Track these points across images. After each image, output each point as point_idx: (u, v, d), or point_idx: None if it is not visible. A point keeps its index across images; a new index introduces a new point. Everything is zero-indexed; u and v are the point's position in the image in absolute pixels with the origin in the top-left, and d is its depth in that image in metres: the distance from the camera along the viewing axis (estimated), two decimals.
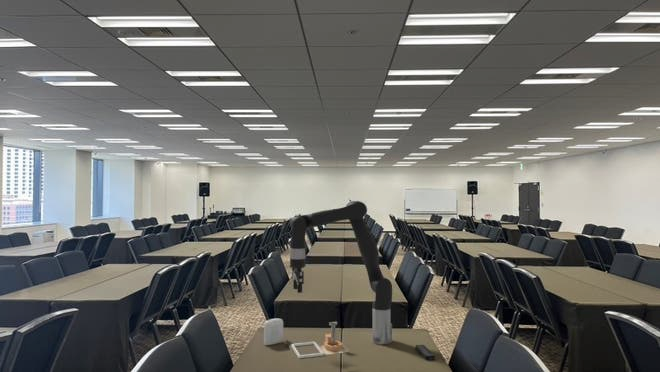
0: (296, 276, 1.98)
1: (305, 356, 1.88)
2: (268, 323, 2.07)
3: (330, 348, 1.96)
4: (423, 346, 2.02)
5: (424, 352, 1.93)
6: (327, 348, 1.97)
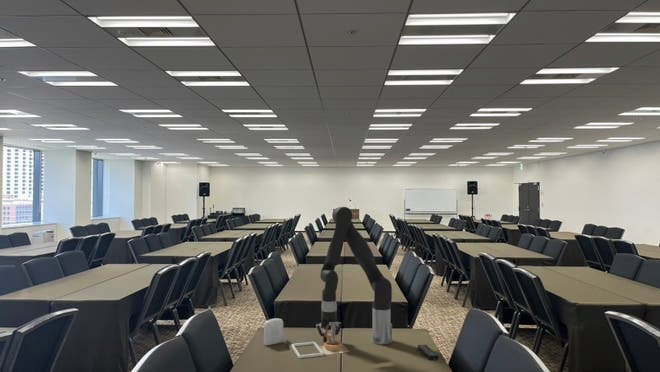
0: None
1: (305, 356, 1.88)
2: (268, 323, 2.07)
3: (330, 348, 1.96)
4: (425, 346, 2.02)
5: (427, 352, 1.94)
6: (327, 348, 1.97)
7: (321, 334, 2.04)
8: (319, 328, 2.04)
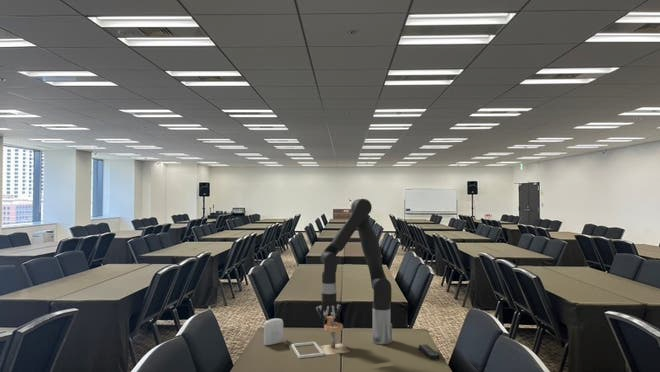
0: None
1: (305, 356, 1.88)
2: (268, 323, 2.07)
3: (331, 329, 1.97)
4: (426, 345, 2.02)
5: (429, 352, 1.94)
6: (328, 329, 1.97)
7: (321, 316, 2.05)
8: (319, 310, 2.04)
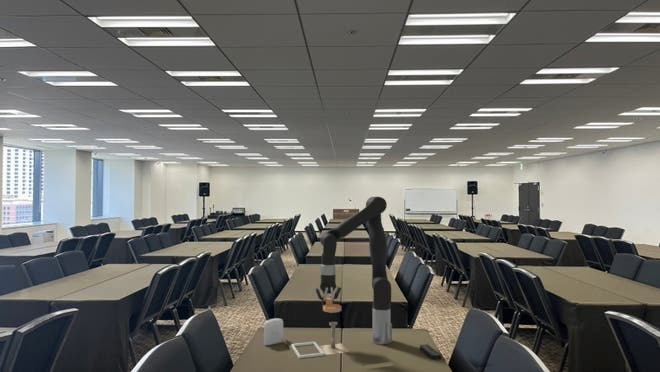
0: None
1: (305, 356, 1.88)
2: (268, 323, 2.07)
3: (329, 310, 1.97)
4: (427, 345, 2.02)
5: (430, 352, 1.94)
6: (326, 310, 1.97)
7: (320, 297, 2.05)
8: (318, 291, 2.05)
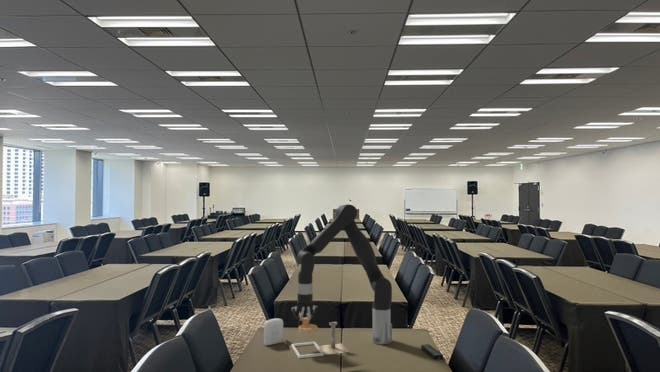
0: (309, 311, 2.01)
1: (305, 356, 1.88)
2: (268, 323, 2.07)
3: (304, 331, 1.91)
4: (429, 345, 2.02)
5: (432, 352, 1.94)
6: (301, 331, 1.92)
7: (296, 317, 1.99)
8: (294, 311, 1.99)
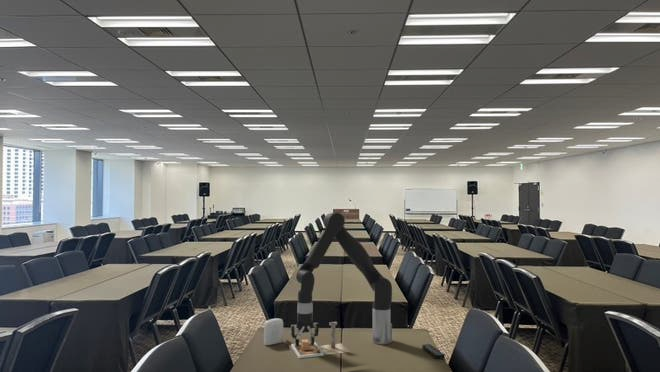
0: None
1: (305, 356, 1.88)
2: (268, 323, 2.07)
3: (304, 354, 1.91)
4: (430, 345, 2.03)
5: (433, 351, 1.94)
6: (301, 354, 1.91)
7: (293, 336, 1.98)
8: (293, 329, 1.98)
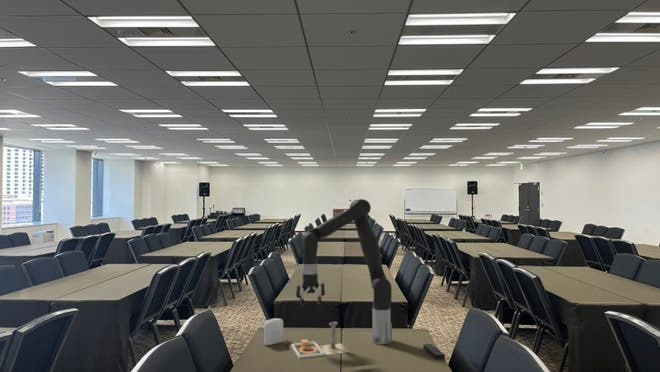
0: None
1: (305, 356, 1.88)
2: (268, 323, 2.07)
3: (304, 354, 1.91)
4: (431, 345, 2.03)
5: (434, 351, 1.94)
6: (301, 354, 1.91)
7: (298, 295, 2.02)
8: (299, 289, 2.02)
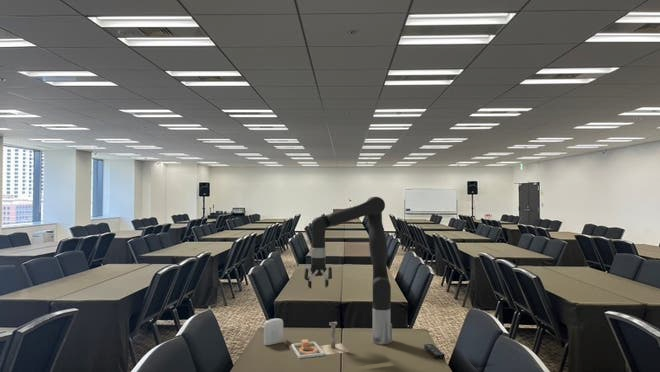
0: (324, 273, 2.12)
1: (305, 356, 1.88)
2: (268, 323, 2.07)
3: (304, 354, 1.91)
4: (432, 345, 2.03)
5: (434, 351, 1.94)
6: (301, 354, 1.91)
7: (306, 278, 2.09)
8: (307, 271, 2.09)
